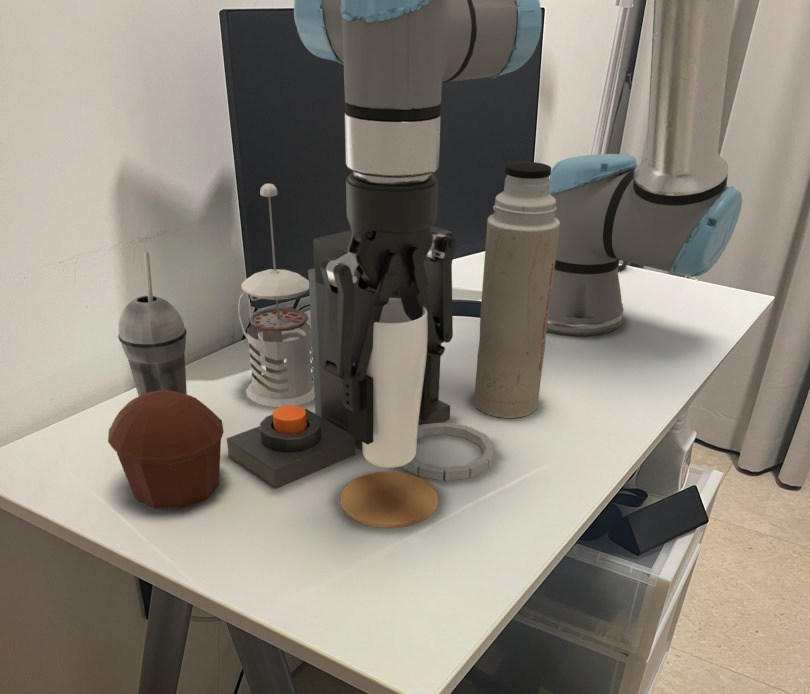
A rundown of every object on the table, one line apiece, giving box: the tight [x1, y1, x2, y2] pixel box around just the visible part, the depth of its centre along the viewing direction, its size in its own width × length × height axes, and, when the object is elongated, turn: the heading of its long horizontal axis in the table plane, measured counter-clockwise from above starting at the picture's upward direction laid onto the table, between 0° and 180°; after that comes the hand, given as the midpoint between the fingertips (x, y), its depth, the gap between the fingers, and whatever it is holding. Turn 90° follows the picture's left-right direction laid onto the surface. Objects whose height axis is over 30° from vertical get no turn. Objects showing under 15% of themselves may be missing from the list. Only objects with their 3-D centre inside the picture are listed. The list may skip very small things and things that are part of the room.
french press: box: [237, 183, 315, 408], centre depth 99 cm, size 10×12×25 cm
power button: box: [272, 405, 307, 434], centre depth 90 cm, size 4×4×2 cm
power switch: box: [226, 408, 357, 489], centre depth 92 cm, size 11×9×4 cm
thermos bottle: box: [473, 161, 560, 419], centre depth 96 cm, size 8×8×28 cm
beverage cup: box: [117, 252, 188, 397], centre depth 92 cm, size 7×7×20 cm
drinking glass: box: [362, 298, 428, 469], centre depth 78 cm, size 7×7×15 cm
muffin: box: [107, 390, 224, 509], centre depth 84 cm, size 12×11×10 cm
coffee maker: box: [307, 225, 496, 481], centre depth 90 cm, size 13×22×22 cm, turn 43°
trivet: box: [340, 471, 439, 529], centre depth 85 cm, size 10×10×1 cm
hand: (389, 425), depth 80 cm, fingers closed on drinking glass, 7 cm apart
